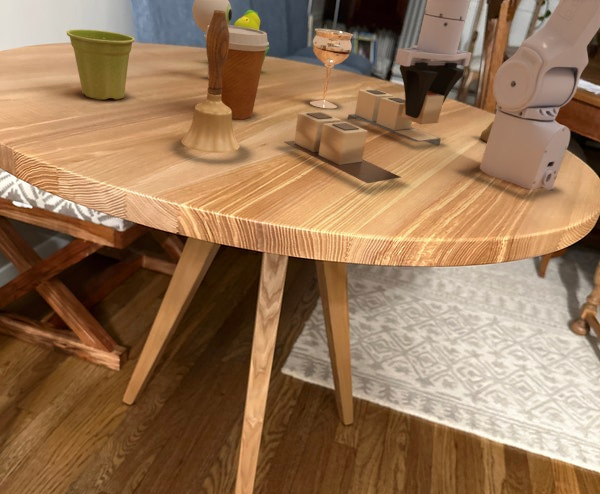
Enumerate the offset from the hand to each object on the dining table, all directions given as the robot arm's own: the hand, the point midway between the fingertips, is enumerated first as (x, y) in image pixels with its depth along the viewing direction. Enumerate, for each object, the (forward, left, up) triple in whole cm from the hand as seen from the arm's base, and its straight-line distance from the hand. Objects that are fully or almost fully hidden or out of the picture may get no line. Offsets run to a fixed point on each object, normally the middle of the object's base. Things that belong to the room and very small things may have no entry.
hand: (421, 115), depth 86 cm
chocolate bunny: (-6, -16, -4) cm, 18 cm away
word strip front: (-5, +21, -4) cm, 22 cm away
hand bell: (+5, +34, -4) cm, 35 cm away
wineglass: (+22, 0, -4) cm, 22 cm away
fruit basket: (+52, -2, -4) cm, 52 cm away
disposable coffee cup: (+20, +21, -4) cm, 29 cm away
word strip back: (+5, 0, -4) cm, 6 cm away
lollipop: (+43, +11, -4) cm, 45 cm away
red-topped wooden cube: (0, 0, -1) cm, 1 cm away
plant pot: (+33, +36, -4) cm, 49 cm away
